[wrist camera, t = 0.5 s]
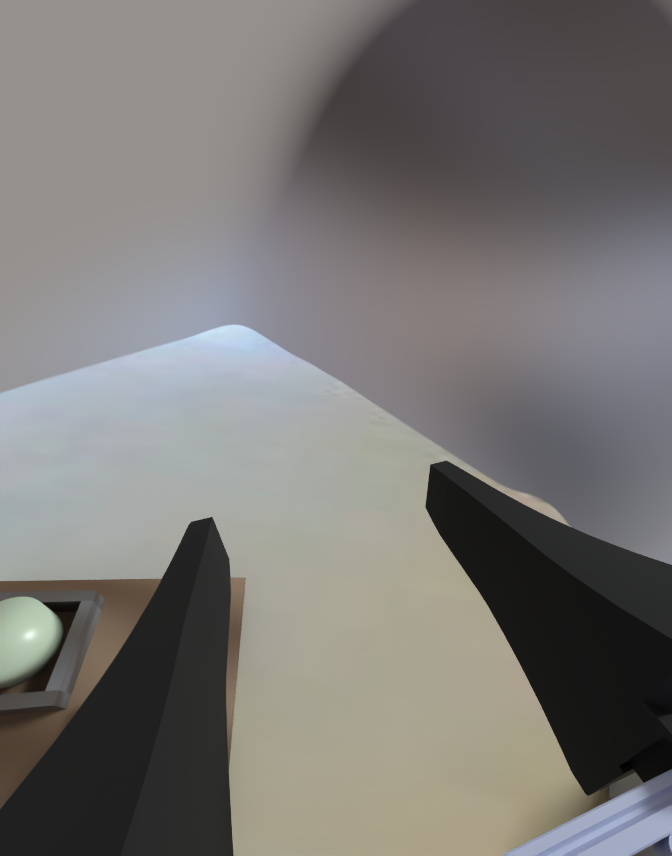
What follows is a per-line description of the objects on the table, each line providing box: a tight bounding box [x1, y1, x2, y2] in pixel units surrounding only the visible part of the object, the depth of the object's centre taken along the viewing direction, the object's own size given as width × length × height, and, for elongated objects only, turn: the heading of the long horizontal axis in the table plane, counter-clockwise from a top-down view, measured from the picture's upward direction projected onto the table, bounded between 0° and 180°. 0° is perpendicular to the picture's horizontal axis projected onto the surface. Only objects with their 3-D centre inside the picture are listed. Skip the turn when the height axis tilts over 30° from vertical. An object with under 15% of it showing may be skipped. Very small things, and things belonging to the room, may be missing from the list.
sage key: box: [0, 597, 64, 689], centre depth 17 cm, size 4×4×2 cm
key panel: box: [0, 578, 246, 809], centre depth 16 cm, size 18×16×4 cm
